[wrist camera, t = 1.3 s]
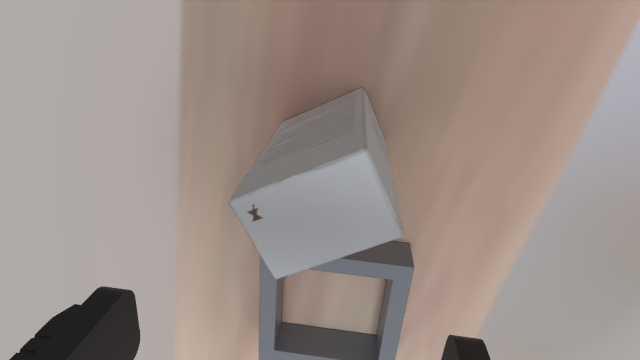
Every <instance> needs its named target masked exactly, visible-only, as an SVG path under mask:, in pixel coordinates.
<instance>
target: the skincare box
mask: <svg viewBox="0 0 640 360" xmlns="http://www.w3.org/2000/svg"><path fill="white" fill-rule="evenodd" d="M229 205H230V206H231V208H232V209H233V211H234V213H235V214H236V216H237V217H238V219H239V221H240V222H241V224H242V225H243V227H244V229H245V230H246V232H247V233H248V235H249V237H250V238H251V240H252V242H253V243H254V245H255V247H256V248H257V250H258V252H259V254H260V255H261V257H262V259H263V260H264V262H265V264H266V265H267V267H268V268H269V270H270V272H271V273H272V275H273V276H274V278H275V279H280V278H282V277H285V276H288V275H291V274H294V273H297V272H300V271H303V270H306V269H310V268H312V267H315V266H318V265H321V264H324V263H327V262H330V261H333V260H336V259H339V258H342V257H345V256H347V255H350V254H353V253H356V252H359V251H363V250H366V249H368V248H371V247H374V246H377V245H380V244H383V243H387V242H390V241H393V240H396V239H400V238H402V237H403V229H402V224H401V218H400V214H399V208H398V203H397V198H396V193H395V188H394V183H393V177H392V172H391V166H390V161H389V156H388V150H387V145H386V142H385V139H384V137H383V134H382V132H381V129H380V127H379V124H378V121H377V119H376V116H375V114H374V111H373V108H372V106H371V103H370V101H369V98H368V96H367V93H366V91H365V89H364V88H360V89H357V90H355V91H353V92H350V93H348V94H346V95H343V96H341V97H339V98H336V99H334V100H332V101H330V102H327V103H325V104H322V105H320V106H318V107H316V108H313V109H311V110H309V111H306V112H304V113H302V114H300V115H297V116H295V117H293V118H290V119H288V120H286V121H283V122H282V123H281V124H280V126H279V127H278V129H277V130H276V132H275V133H274V135H273V136H272V138H271V139H270V141H269V142H268V144H267V145H266V147H265V148H264V150H263V151H262V153H261V154H260V156H259V157H258V159H257V160H256V162H255V163H254V165H253V166H252V168H251V169H250V171H249V172H248V174H247V175H246V176H245V178H244V179H243V181H242V182H241V184H240V185H239V187H238V188H237V190H236V191H235V193H234V194H233V196H232V197H231V199H230V201H229Z"/></svg>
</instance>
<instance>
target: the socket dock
mask: <svg viewBox="0 0 640 360" xmlns="http://www.w3.org/2000/svg"><path fill="white" fill-rule="evenodd" d="M310 269H311V270H319V271H327V272H335V273H342V274H350V275H358V276H366V277H374V278H381V279H386V285H385V291H384V296H383V302H382V308H381V313H380V319H379V325H378V330H377V335H370V334H362V333H355V332H348V331H341V330H333V329H326V328H319V327H312V326H304V325H297V324H290V323H283V322H282V302H283V281H284V277H282V278H280V279H275V278H274V276H273V275H272V273H271V272H270V270H269V268H268V267H267V265H266V264H265V262H264V260H263V259H262V257H261V256H260V311H259V360H395V357H396V352H397V347H398V343H399V338H400V333H401V328H402V323H403V319H404V314H405V309H406V304H407V299H408V295H409V290H410V285H411V280H412V276H413V271H414V264H413V259H412V253H411V248H410V243H403V242H395V241H390V242H387V243H383V244H380V245H377V246H374V247H371V248H368V249H366V250H363V251H359V252H356V253H353V254H350V255H347V256H345V257H342V258H339V259H336V260H333V261H330V262H327V263H324V264H321V265H318V266H315V267H312V268H310Z"/></svg>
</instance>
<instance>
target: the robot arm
mask: <svg viewBox="0 0 640 360" xmlns="http://www.w3.org/2000/svg"><path fill="white" fill-rule="evenodd" d="M139 343H140V330H139V322H138V315H137V308H136V301H135V295H134V293H133V291H131V290H125V289H118V288H111V287H100V288H98V289H97V290H95V291H94V293H92V294H91V296H90V297H89V298H88V299H87V300H86V301H85V302H84V303H83V304H82V305H77V304H75V305H73V306H71V307H70V308H68V309H66V310H65V311H63V312H61V313H59V314H58V315H56V316H54V317H53V318H52V319H51V320H50V321H48V323H46V324H45V325H44V326H43V327H42V328H41V329H40V330H39V331H38V332H37V333H36V334H35V337H34V338H32V339H30V340H29V341H28V342H27V343H26V344H25V345H24V346H23V347H22V348H21V349H20V352H19V353H16V354H15V355H14V356H13V357H12V358H11V359H10V360H133V359H134V358H135V356H136V353H137V351H138V347H139ZM441 360H490V357H489V354H488V352H487V349H486V346H485V344H484V342H483V340H481V339H476V338H469V337H462V336H454V335H449V336H448V338H447V341H446V344H445V348H444V352H443V356H442V359H441Z"/></svg>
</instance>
